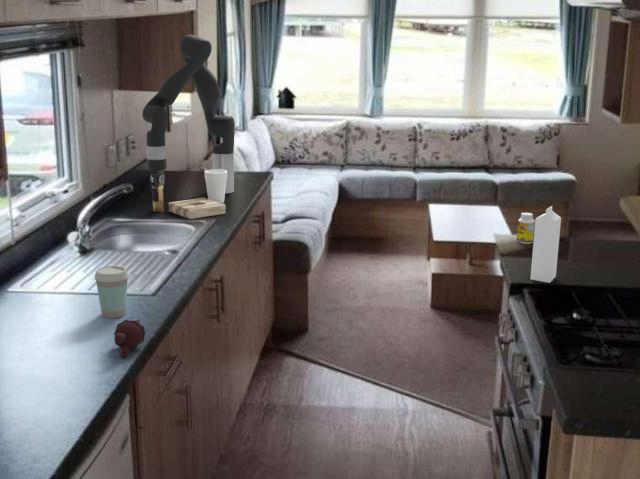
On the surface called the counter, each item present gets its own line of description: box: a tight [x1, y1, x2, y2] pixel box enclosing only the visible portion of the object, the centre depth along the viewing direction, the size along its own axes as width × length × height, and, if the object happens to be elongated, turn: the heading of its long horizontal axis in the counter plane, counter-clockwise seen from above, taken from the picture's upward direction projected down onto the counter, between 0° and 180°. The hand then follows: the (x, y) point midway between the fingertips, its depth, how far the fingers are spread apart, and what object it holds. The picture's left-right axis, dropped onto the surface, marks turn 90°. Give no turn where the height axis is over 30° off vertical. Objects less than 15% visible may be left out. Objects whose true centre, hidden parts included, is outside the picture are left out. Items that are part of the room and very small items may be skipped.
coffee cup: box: [94, 265, 130, 319], centre depth 216 cm, size 8×8×12 cm
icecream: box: [113, 319, 146, 359], centre depth 196 cm, size 7×7×15 cm
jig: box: [168, 197, 227, 220], centre depth 329 cm, size 16×16×4 cm
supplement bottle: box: [516, 212, 535, 245], centre depth 293 cm, size 6×6×10 cm
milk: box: [529, 205, 562, 284], centre depth 250 cm, size 6×6×22 cm
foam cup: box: [204, 168, 227, 204], centre depth 346 cm, size 10×9×13 cm
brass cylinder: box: [152, 185, 165, 213], centre depth 330 cm, size 4×4×10 cm
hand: (157, 199), depth 330 cm, fingers open, 5 cm apart
